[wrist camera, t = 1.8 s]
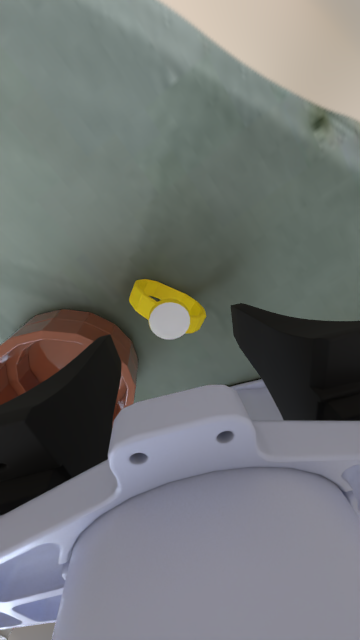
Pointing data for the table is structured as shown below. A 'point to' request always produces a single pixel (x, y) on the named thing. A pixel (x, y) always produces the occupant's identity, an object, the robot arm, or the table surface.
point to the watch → (166, 309)
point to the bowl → (61, 352)
